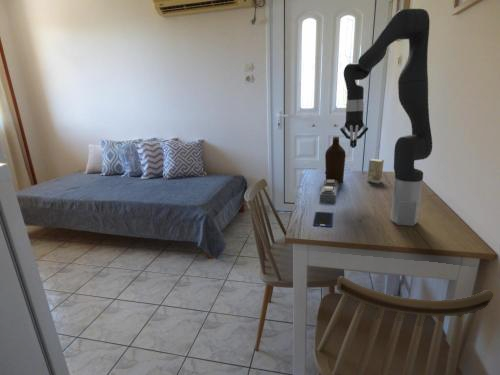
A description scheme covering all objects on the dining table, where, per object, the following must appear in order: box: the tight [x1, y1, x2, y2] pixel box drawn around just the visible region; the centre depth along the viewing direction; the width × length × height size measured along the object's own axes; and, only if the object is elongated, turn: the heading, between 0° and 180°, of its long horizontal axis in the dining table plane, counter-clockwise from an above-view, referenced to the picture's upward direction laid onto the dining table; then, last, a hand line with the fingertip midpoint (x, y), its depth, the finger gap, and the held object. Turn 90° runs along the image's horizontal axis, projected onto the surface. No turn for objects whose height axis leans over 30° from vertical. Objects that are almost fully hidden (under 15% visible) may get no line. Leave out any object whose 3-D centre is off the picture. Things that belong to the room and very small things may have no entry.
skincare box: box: [366, 158, 384, 184], centre depth 163 cm, size 6×4×12 cm
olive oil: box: [324, 136, 346, 185], centre depth 164 cm, size 11×11×25 cm
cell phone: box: [312, 211, 334, 228], centre depth 122 cm, size 7×14×1 cm, turn 164°
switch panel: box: [319, 179, 339, 203], centre depth 149 cm, size 22×7×4 cm, turn 161°
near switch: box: [324, 186, 333, 191], centre depth 143 cm, size 5×4×1 cm
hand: (353, 147), depth 143 cm, fingers closed
